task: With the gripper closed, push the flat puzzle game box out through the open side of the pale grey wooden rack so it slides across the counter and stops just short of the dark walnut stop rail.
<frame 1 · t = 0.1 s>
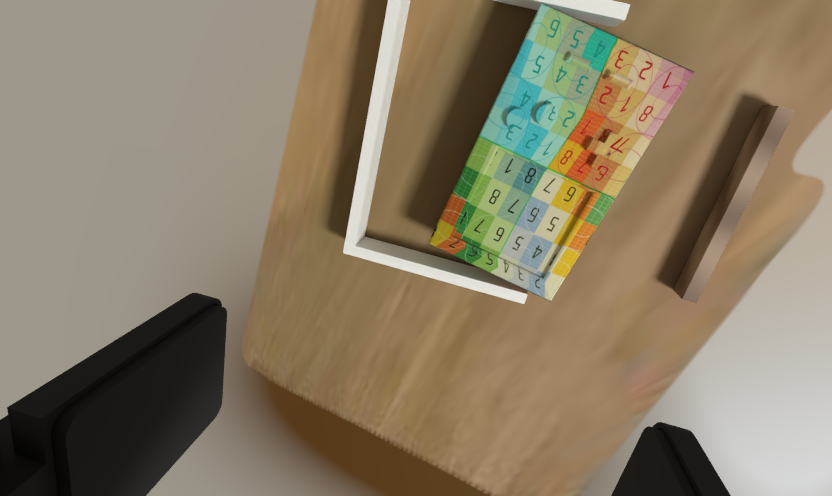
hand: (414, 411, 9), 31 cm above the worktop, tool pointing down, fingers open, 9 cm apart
stop rail: (721, 206, 36), on the worktop
puzzle game: (541, 160, 38), on the worktop
rack: (474, 144, 38), on the worktop
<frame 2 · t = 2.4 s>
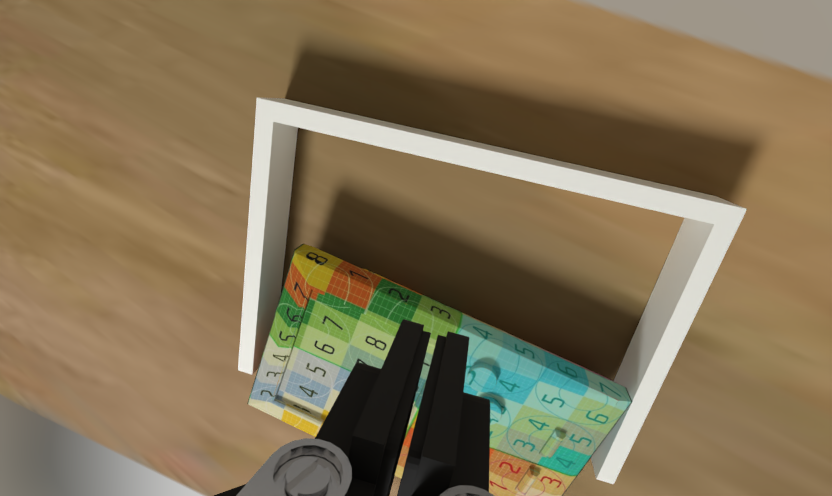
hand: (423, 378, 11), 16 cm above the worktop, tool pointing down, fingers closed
puzzle game: (430, 365, 29), on the worktop
rack: (451, 290, 27), on the worktop
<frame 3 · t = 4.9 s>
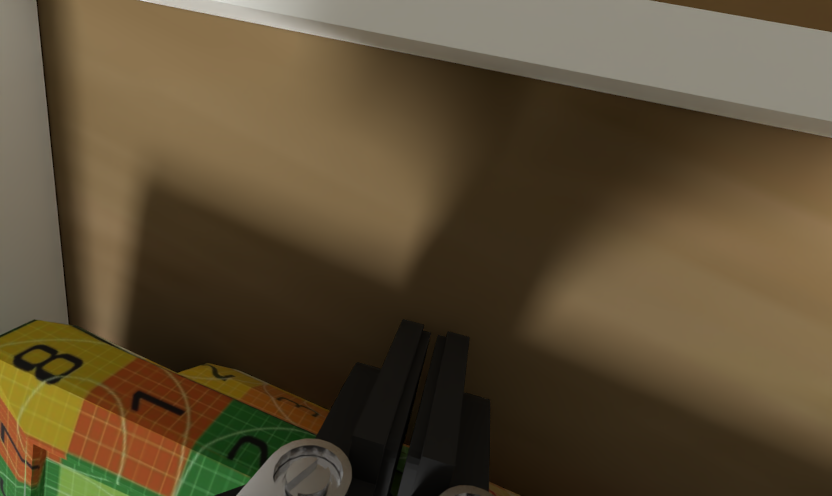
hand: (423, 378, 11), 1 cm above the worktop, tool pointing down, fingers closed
rack: (423, 384, 12), on the worktop
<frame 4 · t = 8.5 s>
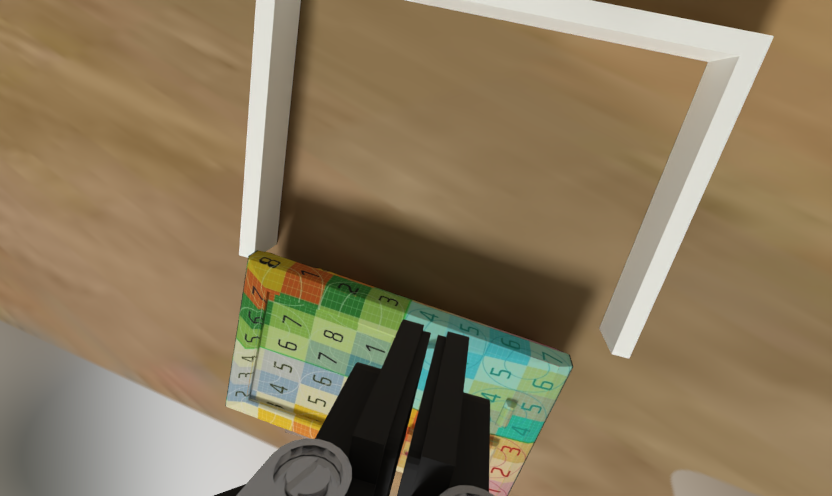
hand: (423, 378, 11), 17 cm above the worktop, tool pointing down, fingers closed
puzzle game: (395, 353, 31), on the worktop, touching rack, stop rail
rack: (461, 166, 26), on the worktop
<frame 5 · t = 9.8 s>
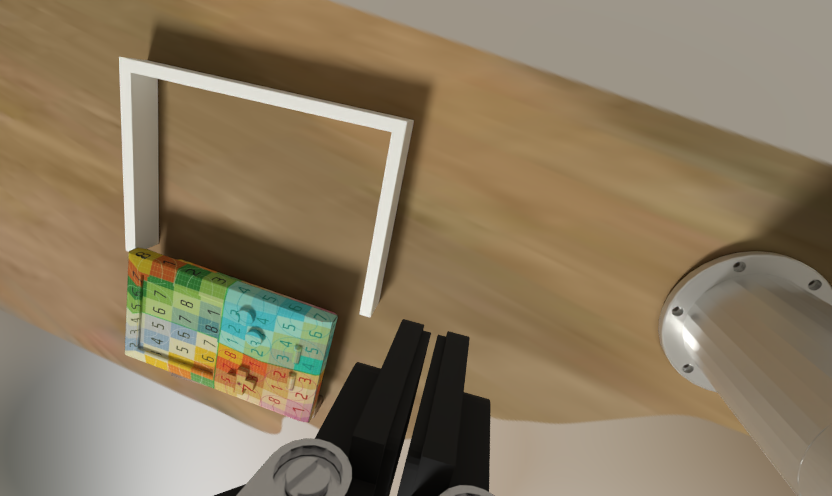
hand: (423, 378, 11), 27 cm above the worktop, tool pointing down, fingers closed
puzzle game: (244, 319, 44), on the worktop, touching rack, stop rail
rack: (267, 192, 39), on the worktop
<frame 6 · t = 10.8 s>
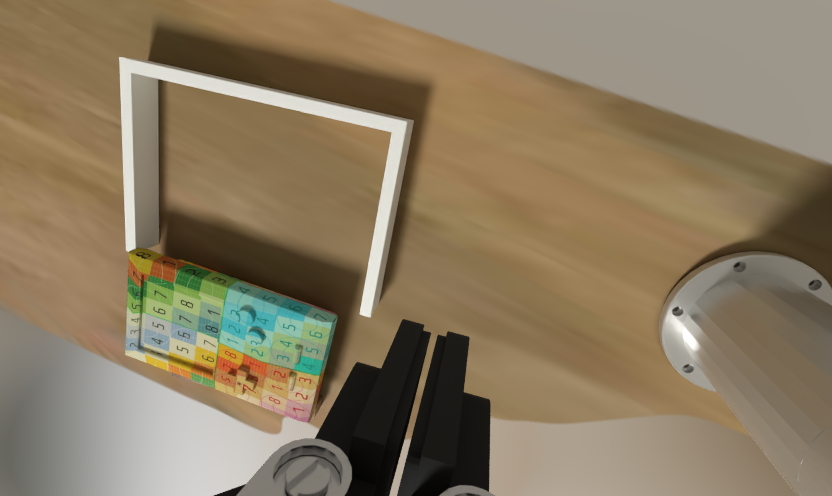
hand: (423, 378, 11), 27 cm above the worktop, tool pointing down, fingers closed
puzzle game: (244, 319, 44), on the worktop, touching rack, stop rail
rack: (267, 192, 39), on the worktop
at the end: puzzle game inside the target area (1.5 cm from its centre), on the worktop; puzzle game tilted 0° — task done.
